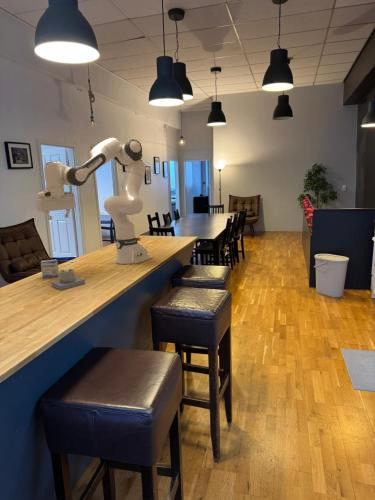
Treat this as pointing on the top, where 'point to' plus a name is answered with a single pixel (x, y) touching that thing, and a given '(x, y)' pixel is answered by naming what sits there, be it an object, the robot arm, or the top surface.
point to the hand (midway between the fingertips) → (58, 218)
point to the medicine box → (49, 268)
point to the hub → (67, 276)
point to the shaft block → (67, 285)
